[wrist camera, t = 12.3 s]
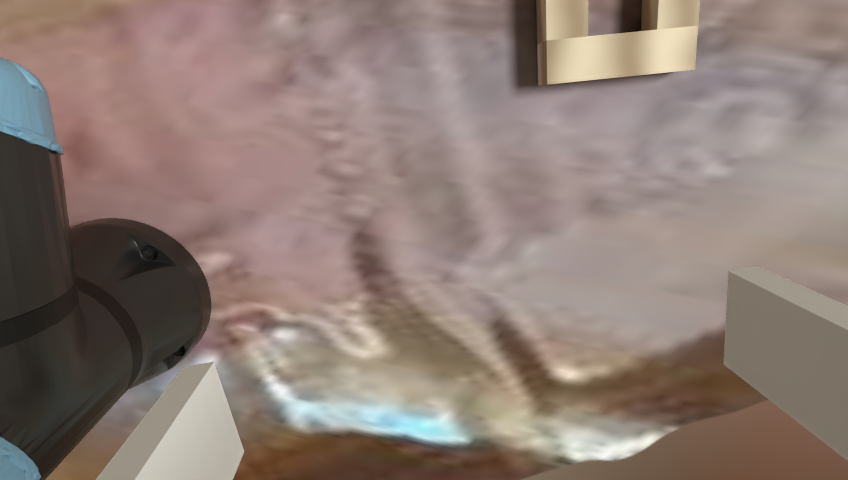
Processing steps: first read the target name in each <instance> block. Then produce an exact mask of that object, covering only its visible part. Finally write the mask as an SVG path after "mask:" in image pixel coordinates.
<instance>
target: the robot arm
mask: <svg viewBox="0 0 848 480" xmlns="http://www.w3.org/2000/svg"><path fill="white" fill-rule="evenodd" d="M63 154H64V153H63V148H62V146H61V145H60V144H59V143H58V142H57V139H56V134H55V129H54V123H53V118H52V113H51V108H50V103H49V98H48V95H47V92H46V90H45V88H44V86H43V84H42V83H41V82H40V80H39V79H38V78H37V77H36V76H35V75H34V74H33V73H31V72H30V71H29V70H27V69H26V68H24V67H22V66H21V65H19V64H17V63H15V62H12V61H10V60H7V59H4V58H2V57H0V480H45V479H46V478H47V477H48V476H49V475H50V473H51V472H52V471H53V470H54V469H55V468H56V467H57V466H58V465H59V464H60V463H61V461H62V460H63V459H64V458H65V457H66V456H67V455H68V454H69V453H70V452H71V451H72V450H73V448H74V447H75V446H76V445H77V444H78V443H79V442H80V441H81V440H82V439H83V438H84V436H85V435H86V434H87V433H88V432H89V431H90V430H91V429H92V428H93V427H94V426H95V425H96V423H97V422H98V421H99V420H100V419H101V418H102V417H103V416H104V415H105V414H106V413H107V412H108V410H109V409H110V408H111V407H112V406H113V405H114V404H115V403H116V402H117V401H118V399H119V398H120V397H121V396H122V395H123V394H124V393H125V392H126V391H127V390H128V389H130V388H132V387H134V386H137V385H139V384H141V383H143V382H145V381H147V380H149V379H151V378H153V377H156V376H158V375H160V374H162V373H164V372H166V371H168V370H170V369H171V368H173V367H174V366H176V365H177V364H178V363H179V362H181V361H182V360H183V359H184V358H185V357H186V356H187V355H188V354H189V353H190V352H191V350H192V349H193V348H194V347H195V346H196V344H197V343H198V342H199V341H200V339H201V338H202V336H203V334H204V333H205V331H206V328H207V326H208V323H209V319H210V313H211V298H210V291H209V287H208V284H207V281H206V278H205V276H204V274H203V272H202V270H201V268H200V266H199V265H198V263H197V262H196V261H195V259H194V258H193V257H192V255H191V254H190V253H189V252H188V251H187V250H186V249H185V248H184V247H183V246H182V245H181V244H180V243H178V242H177V241H176V240H175V239H173V238H172V237H170V236H169V235H167V234H166V233H164V232H162V231H160V230H158V229H156V228H154V227H152V226H149V225H147V224H144V223H140V222H137V221H132V220H127V219H117V218H108V219H98V220H93V221H89V222H86V223H83V224H80V225H77V226H75V227H72V228H69V220H68V212H67V204H66V196H65V188H64V180H63V172H62V164H61V156H60V155H63ZM724 365H725V366H726V367H728V368H729V369H730V370H732V371H733V372H734V373H735V374H737V375H738V376H739V377H741V378H742V379H743V380H744V381H746V382H747V383H748V384H750V385H751V386H752V387H753V388H755V389H756V390H757V391H759V392H760V393H761V394H762V395H764V396H765V397H766V398H768V399H769V400H770V401H771V402H773V403H774V404H775V405H777V406H778V407H779V408H781V409H782V410H783V411H784V412H786V413H787V414H788V415H789V416H791V417H792V418H793V419H795V420H796V421H797V422H798V423H800V424H801V425H802V426H804V427H805V428H806V429H807V430H809V431H810V432H811V433H813V434H814V435H815V436H816V437H818V438H819V439H820V440H822V441H823V442H824V443H826V444H827V445H828V446H829V447H831V448H832V449H833V450H834V451H836V452H837V453H838V454H840V455H841V456H842V457H844V458H845V459H846V460H847V461H848V306H847V305H845V304H842V303H840V302H838V301H836V300H833V299H831V298H829V297H827V296H824V295H822V294H820V293H818V292H815V291H813V290H811V289H808V288H806V287H804V286H802V285H799V284H797V283H795V282H793V281H790V280H788V279H786V278H784V277H781V276H779V275H777V274H774V273H772V272H770V271H768V270H765V269H763V268H761V267H759V266H755V267H749V268H744V269H738V270H732V271H729V273H728V291H727V310H726V329H725V348H724ZM243 453H244V450H243V447H242V444H241V441H240V438H239V435H238V432H237V429H236V426H235V423H234V420H233V417H232V414H231V411H230V408H229V405H228V402H227V399H226V396H225V393H224V390H223V388H222V385H221V382H220V379H219V376H218V373H217V370H216V367H215V364H214V362H210V363H204V364H199V365H193V366H187V367H183V368H182V369H181V370H180V371H179V373H178V374H177V375H176V377H175V378H174V379H173V381H172V382H171V383H170V384H169V386H168V387H167V388H166V390H165V391H164V392H163V393H162V395H161V396H160V397H159V399H158V400H157V401H156V402H155V404H154V405H153V406H152V408H151V409H150V410H149V411H148V413H147V414H146V415H145V417H144V418H143V419H142V421H141V422H140V423H139V424H138V426H137V427H136V428H135V430H134V431H133V432H132V433H131V435H130V436H129V437H128V439H127V440H126V441H125V442H124V444H123V445H122V446H121V448H120V449H119V450H118V452H117V453H116V454H115V455H114V457H113V458H112V459H111V461H110V462H109V463H108V464H107V466H106V467H105V468H104V470H103V471H102V472H101V473H100V475H99V476H98V477H97V479H96V480H233V478H234V475H235V473H236V470H237V468H238V465H239V463H240V461H241V458H242V456H243Z"/></svg>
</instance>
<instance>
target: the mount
mask: <svg viewBox="0 0 848 480" xmlns="http://www.w3.org/2000/svg"><path fill="white" fill-rule="evenodd" d="M699 6H700V0H642V20H641V31H637V32H627V33H617V34H607V35H597V36H588V0H536V10H537V56H538V86H540V85H550V84H560V83H570V82H580V81H589V80H599V79H609V78H619V77H629V76H639V75H649V74H659V73H668V72H678V71H687V70H695V60H696V47H697V33H698V20H699Z"/></svg>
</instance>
